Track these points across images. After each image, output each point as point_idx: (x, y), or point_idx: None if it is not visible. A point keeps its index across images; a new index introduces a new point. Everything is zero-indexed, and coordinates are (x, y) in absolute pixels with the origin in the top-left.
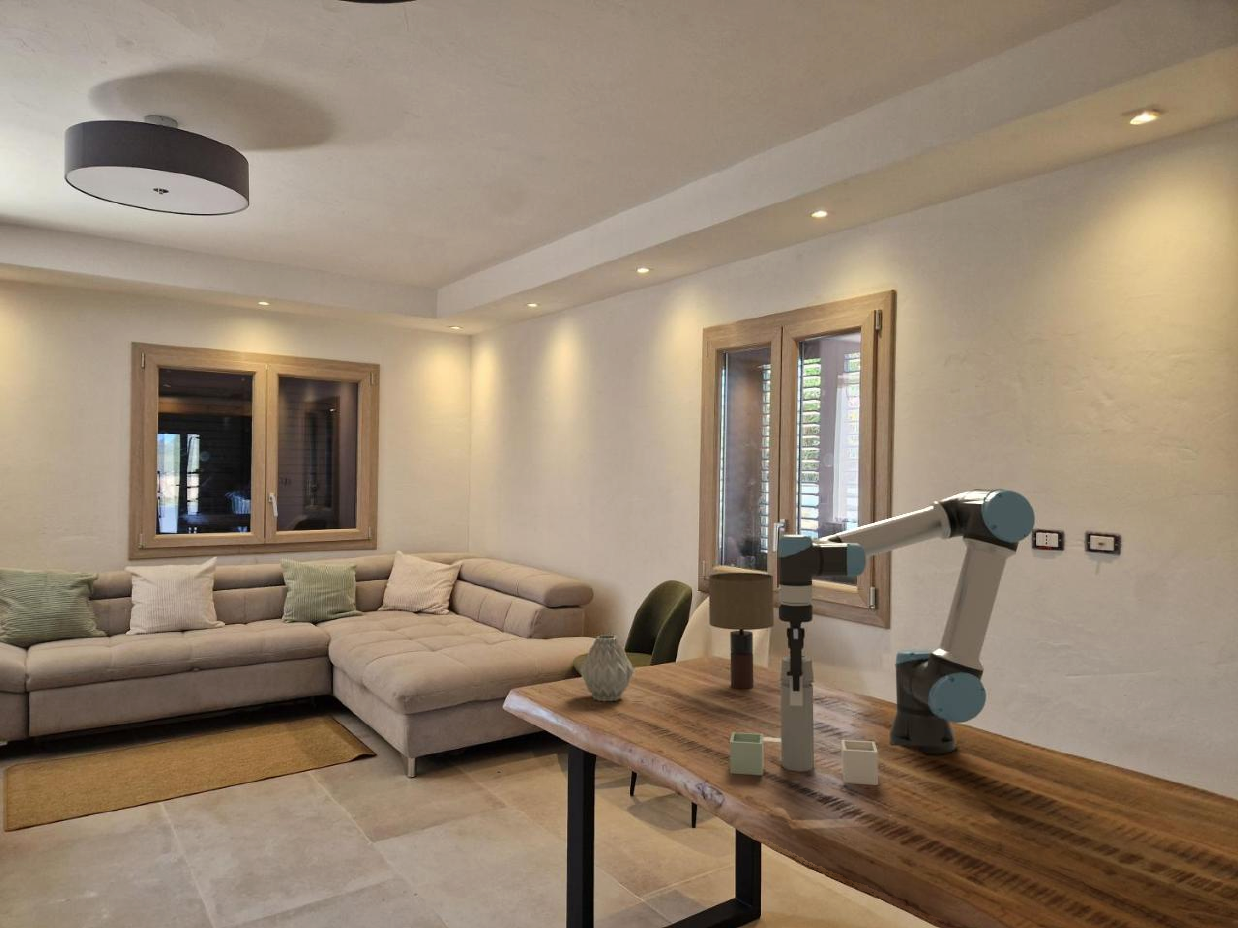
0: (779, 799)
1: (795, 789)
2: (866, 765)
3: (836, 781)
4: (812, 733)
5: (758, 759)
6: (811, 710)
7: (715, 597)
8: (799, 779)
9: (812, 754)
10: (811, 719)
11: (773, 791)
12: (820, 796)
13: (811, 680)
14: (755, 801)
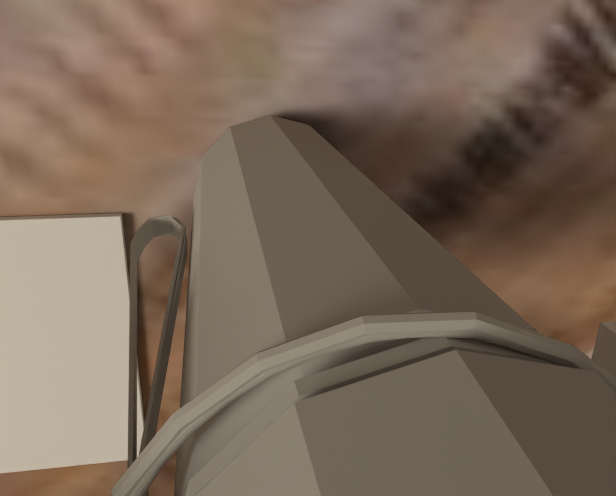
0: (576, 244)
1: (483, 192)
2: None
3: (378, 6)
4: (327, 158)
5: None
6: (402, 213)
7: None
8: (374, 178)
9: (312, 135)
10: (379, 192)
11: (505, 270)
12: (551, 91)
13: (594, 375)
14: (590, 317)
